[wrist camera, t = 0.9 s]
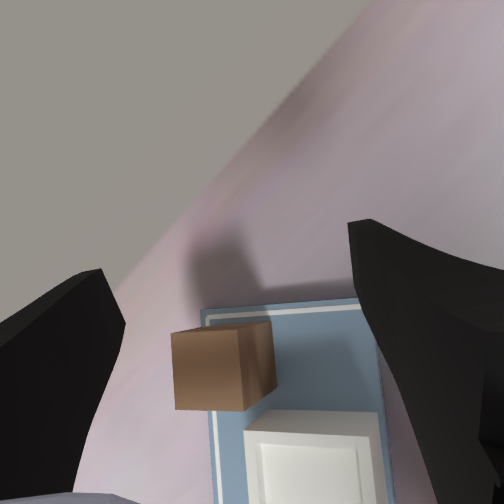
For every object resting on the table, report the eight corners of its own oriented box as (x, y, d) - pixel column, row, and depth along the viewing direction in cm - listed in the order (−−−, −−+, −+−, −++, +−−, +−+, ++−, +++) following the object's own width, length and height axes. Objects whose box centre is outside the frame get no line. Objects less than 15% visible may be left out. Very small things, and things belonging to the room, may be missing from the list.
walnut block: (277, 387, 24) (243, 411, 20) (219, 386, 26) (175, 409, 21) (271, 320, 25) (237, 329, 20) (214, 324, 26) (170, 333, 22)
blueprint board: (402, 552, 22) (397, 620, 17) (223, 524, 26) (183, 574, 22) (371, 296, 23) (359, 299, 19) (207, 309, 28) (167, 314, 23)
